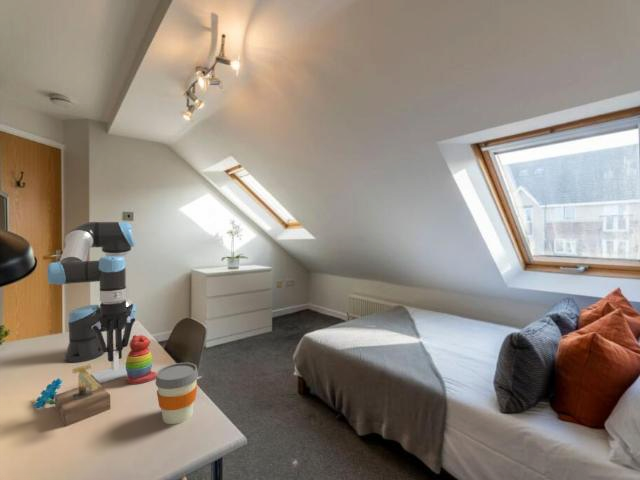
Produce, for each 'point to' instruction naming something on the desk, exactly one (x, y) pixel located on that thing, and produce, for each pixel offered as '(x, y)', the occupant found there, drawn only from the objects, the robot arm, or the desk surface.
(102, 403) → the lock block
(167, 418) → the reusable coffee cup
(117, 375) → the mat
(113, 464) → the desk surface
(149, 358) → the stacking bear
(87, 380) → the gold piece
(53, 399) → the gear
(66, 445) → the desk surface
